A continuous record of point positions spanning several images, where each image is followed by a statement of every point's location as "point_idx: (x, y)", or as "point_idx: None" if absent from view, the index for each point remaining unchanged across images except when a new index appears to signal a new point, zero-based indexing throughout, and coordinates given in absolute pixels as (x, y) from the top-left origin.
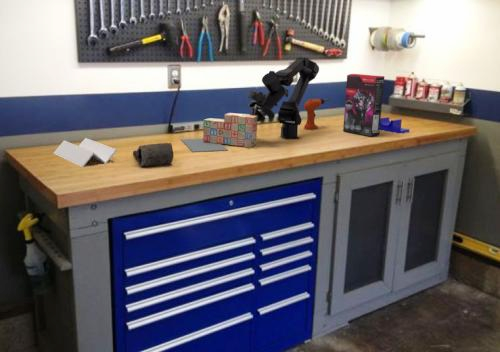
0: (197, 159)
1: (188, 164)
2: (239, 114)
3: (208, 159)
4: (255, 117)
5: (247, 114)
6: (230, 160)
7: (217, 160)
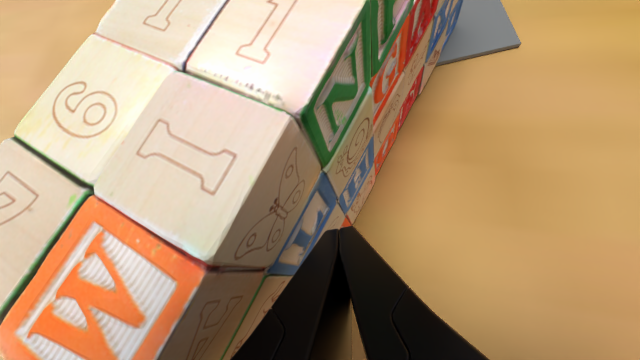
0: (68, 19)
1: (21, 2)
2: (236, 43)
3: (52, 52)
4: (24, 347)
5: (207, 192)
6: (3, 129)
7: (25, 82)
